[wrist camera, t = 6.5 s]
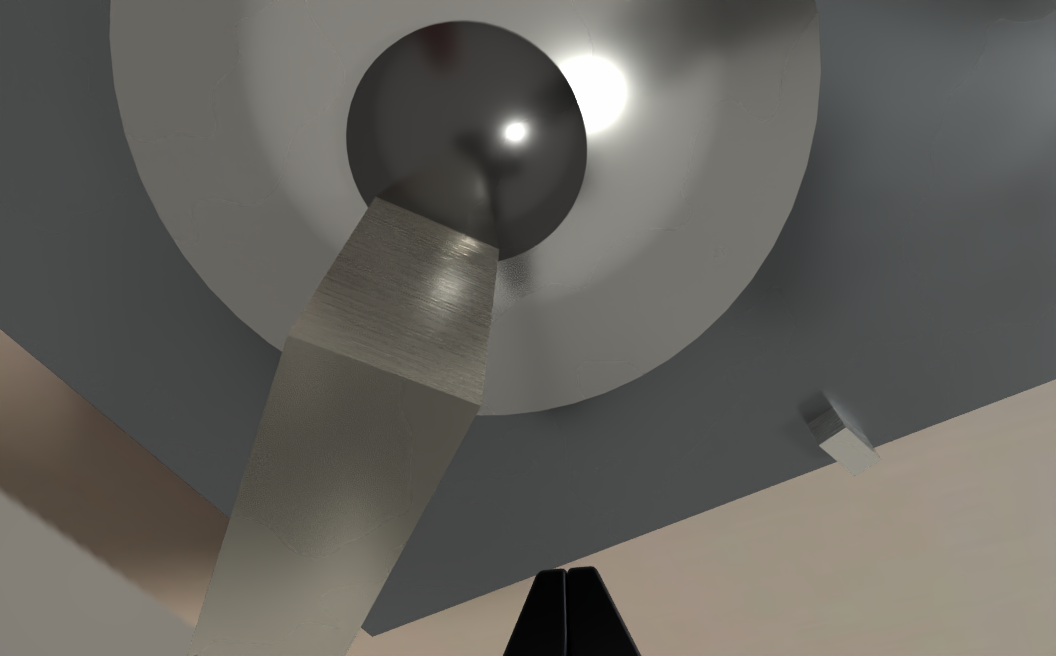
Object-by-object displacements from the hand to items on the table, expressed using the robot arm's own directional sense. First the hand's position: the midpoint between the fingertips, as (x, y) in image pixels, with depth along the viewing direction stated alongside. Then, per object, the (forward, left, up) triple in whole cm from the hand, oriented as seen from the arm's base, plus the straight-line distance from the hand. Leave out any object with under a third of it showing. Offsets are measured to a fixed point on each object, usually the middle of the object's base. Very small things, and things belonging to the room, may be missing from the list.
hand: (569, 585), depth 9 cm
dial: (-4, -2, -2) cm, 5 cm away
